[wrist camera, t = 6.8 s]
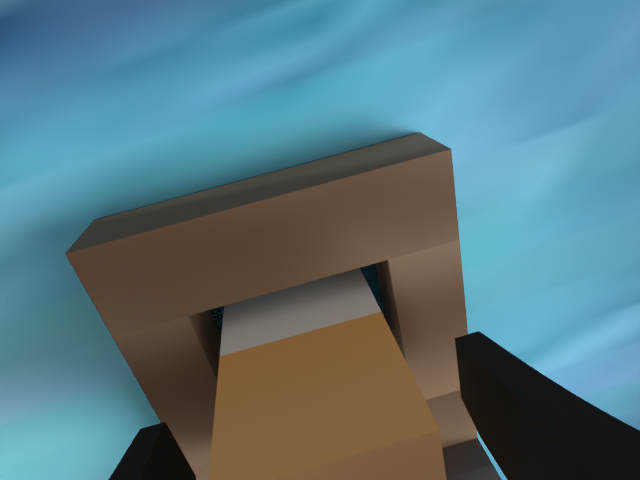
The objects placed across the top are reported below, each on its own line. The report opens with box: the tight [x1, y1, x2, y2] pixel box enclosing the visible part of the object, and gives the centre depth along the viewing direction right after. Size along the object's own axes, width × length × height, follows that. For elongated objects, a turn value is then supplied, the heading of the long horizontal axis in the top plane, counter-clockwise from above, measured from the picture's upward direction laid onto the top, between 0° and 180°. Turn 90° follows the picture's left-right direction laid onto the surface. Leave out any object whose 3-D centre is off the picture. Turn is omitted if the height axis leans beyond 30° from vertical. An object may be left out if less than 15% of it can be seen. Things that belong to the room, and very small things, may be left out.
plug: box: [209, 268, 447, 480], centre depth 11 cm, size 4×4×6 cm
